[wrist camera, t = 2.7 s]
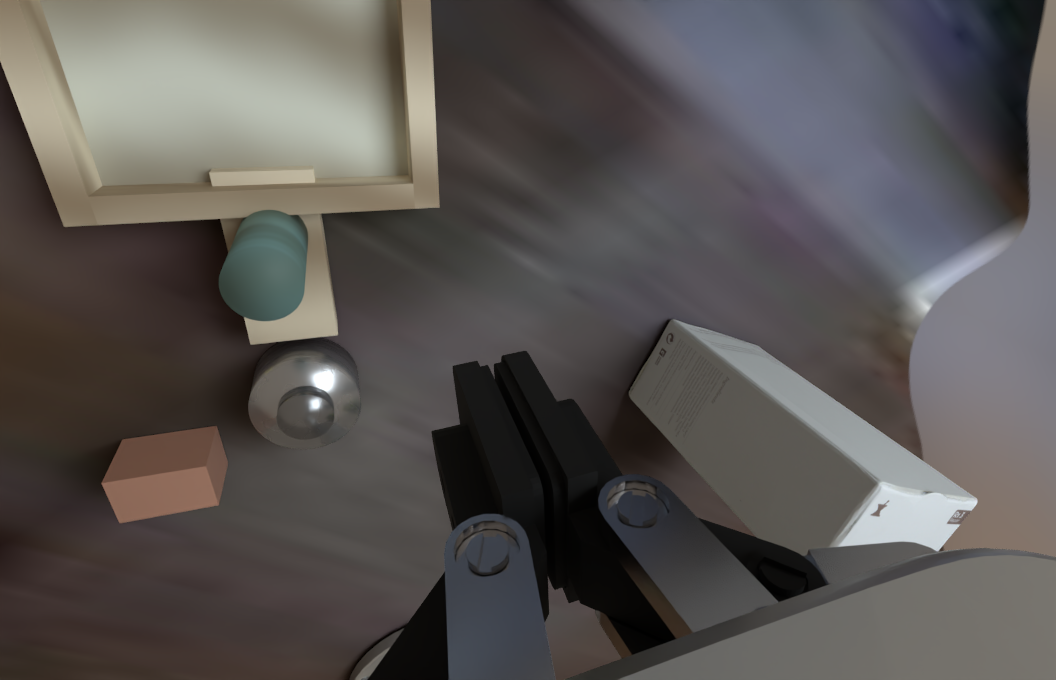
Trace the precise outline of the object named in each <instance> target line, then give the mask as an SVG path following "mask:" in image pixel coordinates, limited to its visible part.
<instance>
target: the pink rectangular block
mask: <svg viewBox="0 0 1056 680" xmlns="http://www.w3.org/2000/svg"><path fill="white" fill-rule="evenodd" d="M227 465H228V461H227V458H226V454H225V451H224V448H223V445H222V441H221V438H220V435H219V431H218V428H217V426H211V427H204V428H197V429H191V430H184V431H177V432H170V433H163V434H156V435H150V436H143V437H136V438H129V439H123V440H122V442H121V444H120V446H119V448H118V450H117V452H116V454H115V456H114V458H113V460H112V462H111V464H110V466H109V469H108V471H107V473H106V475H105V477H104V479H103V481H102V483H101V484H102V486H103V488H104V490H105V492H106V495H107V497H108V499H109V501H110V503H111V506H112V508H113V510H114V512H115V514H116V516H117V519H118V521H119V523H124V522H130V521H135V520H141V519H146V518H151V517H157V516H162V515H168V514H173V513H179V512H184V511H190V510H195V509H201V508H206V507H211V506H217V505H219V502H220V497H221V493H222V488H223V484H224V479H225V475H226V470H227Z"/></svg>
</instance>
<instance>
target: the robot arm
mask: <svg viewBox="0 0 1056 680" xmlns="http://www.w3.org/2000/svg"><path fill="white" fill-rule="evenodd" d="M494 374H495V379H494V377H493V375H492V373H491V371H490V368H489V367H488V365H486V366H481V367H480V365H479V363H478V361H474V362H469V363H464V364H459V365H455V366H453V376H454V383H455V390H456V397H457V404H458V412H459V419H460V425H456V426H452V427H447V428H443V429H439V430H435V431H432V438H433V444H434V450H435V456H436V461H437V466H438V471H439V476H440V481H441V485H442V490H443V494H444V498H445V502H446V506H447V510H448V514H449V518H450V522H451V526H452V530H453V531H452V532H451V534H450V536H449V538H448V540H447V542H446V546H445V553H444V559H445V572H444V574H443V575H442V576H441V578H440V579H439V581H438V582H437V583H436V585H435V586H434V588H433V589H432V590H431V592H430V593H429V595H428V596H427V597H426V599H425V600H424V602H423V603H422V604H421V606H420V607H419V608H418V610H417V611H416V613H415V614H414V615H413V617H412V618H411V620H410V621H409V622H408V624H407V625H406V627H405V628H403V629H401V630H399V631H397V632H395V633H393V634H392V635H390V636H388V637H387V638H385V639H384V640H382V641H381V642H379V643H378V644H377V645H376V646H374V647H373V648H372V649H371V650H370V651H368V652H367V653H366V654H365V656H364V657H363V658H362V659H361V660H360V661H359V663H358V664H357V665H356V667H355V669H354V670H353V672H352V674H351V676H350V679H349V680H556V679H555V674H554V669H553V664H552V659H551V653H550V648H549V643H548V638H547V633H546V628H545V621H546V619H547V617H548V615H549V601H548V577H549V579H550V582H551V584H552V586H553V588H554V589H555V590H556V589H559V588H563V590H564V593H565V595H566V597H567V600H568V602H569V603H571V602H574V601H577V600H579V601H580V603H581V604H583V605H586V606H588V607H590V608H592V609H595V614H596V617H597V619H598V621H599V623H600V625H601V627H602V628H603V630H604V631H605V633H606V635H607V636H608V638H609V639H610V641H611V642H612V644H613V646H614V647H615V649H616V650H617V652H618V653H619V655H620V657H621V658H622V659H620V660H617V661H614V662H612V663H609V664H606V665H603V666H601V667H598V668H595V669H592V670H590V671H587V672H584V673H581V674H579V675H576V676H573V677H570V678H568V679H565V680H1056V557H1053V556H1048V555H1044V554H1039V553H1033V552H1027V551H1020V550H1006V549H990V548H976V549H960V550H948V551H942V552H937V551H935V550H934V549H932V548H930V547H927V546H924V545H921V544H918V543H915V542H902V541H901V542H889V543H877V544H865V545H853V546H841V547H829V548H817V549H809V550H808V553H807V555H803V556H802V555H801V554H799V553H797V552H795V551H793V550H790V549H788V548H786V547H783V546H780V545H777V544H774V543H771V542H768V541H765V540H762V539H759V538H756V537H753V536H751V535H748V534H745V533H742V532H739V531H736V530H733V529H730V528H727V527H724V526H721V525H718V524H715V523H712V522H709V521H706V520H703V519H700V518H697V517H696V516H695V515H694V514H693V513H692V511H691V510H690V509H689V508H688V507H687V506H686V505H685V504H684V503H683V502H682V501H681V500H680V499H679V498H678V497H677V496H676V495H675V494H674V493H673V492H672V491H671V490H670V489H669V488H668V487H667V486H665V485H664V484H663V483H662V482H660V481H658V480H656V479H654V478H651V477H648V476H644V475H639V474H632V475H622V473H621V472H620V470H619V469H618V467H617V466H616V464H615V462H614V461H613V459H612V458H611V456H610V455H609V453H608V452H607V450H606V448H605V447H604V445H603V444H602V442H601V441H600V439H599V437H598V436H597V434H596V433H595V431H594V430H593V428H592V427H591V425H590V423H589V422H588V420H587V419H586V417H585V416H584V414H583V413H582V411H581V409H580V408H579V406H578V405H577V403H576V402H575V401H574V400H573V399H567V400H563V401H558V402H557V401H556V399H555V398H554V396H553V394H552V393H551V391H550V389H549V388H548V386H547V384H546V383H545V381H544V379H543V378H542V376H541V374H540V372H539V371H538V369H537V367H536V366H535V364H534V362H533V361H532V359H531V357H530V356H529V354H528V353H527V351H522V352H517V353H512V354H507V355H503V356H502V358H501V362H500V363H496V364H494ZM547 574H548V575H547Z"/></svg>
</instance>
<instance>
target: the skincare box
mask: <svg viewBox="0 0 1056 680" xmlns="http://www.w3.org/2000/svg"><path fill="white" fill-rule="evenodd" d="M629 396H630V399H631V400H632V401H633V402H634V403H635V404H636V405H637V406H638V407H639V409H640V410H641V411H642V412H643V413H644V414H645V415H646V416H647V417H648V418H649V420H650V421H651V422H652V423H653V424H654V425H655V426H656V427H657V428H658V429H659V431H660V432H661V433H662V434H663V435H664V436H665V437H666V438H667V439H668V440H669V441H670V443H671V444H672V445H673V446H674V447H675V448H676V449H677V450H678V452H679V453H680V454H681V455H682V456H683V457H684V458H685V459H686V460H687V462H688V463H689V464H690V465H691V466H692V467H693V468H694V469H695V470H696V471H697V472H698V474H699V475H700V476H701V477H702V478H703V479H704V480H705V481H706V482H707V483H708V484H709V486H710V487H711V488H712V489H713V490H714V491H715V492H716V493H717V494H718V495H719V496H720V498H721V499H722V500H723V501H724V502H725V503H726V504H727V505H728V506H729V507H730V509H731V510H732V511H733V512H734V513H735V514H736V515H737V516H738V517H739V518H740V519H741V521H742V522H743V523H744V524H745V525H746V526H747V527H748V528H749V529H750V530H751V532H752V533H753V534H754V535H755V536H756V537H757V538H759V539H762V540H765V541H768V542H771V543H774V544H777V545H780V546H783V547H786V548H788V549H790V550H793V551H795V552H797V553H799V554H801V555H802V556H803V555H807V553H808V550H809V549H817V548H829V547H841V546H853V545H865V544H877V543H889V542H901V541H902V542H915V543H918V544H921V545H924V546H927V547H930V548H932V549H934V550H935V551H937V552H938V550H939V549H940V548H941V547H942V546H943V545H944V543H945V542H946V541H947V539H949V537H950V536H951V535H952V534H953V532H954V531H955V530H956V529H957V528H958V526H959V525H960V524H961V523H962V521H963V520H964V519H965V518H966V517H967V515H968V514H969V513H970V512H971V510H972V509H973V508H974V507H975V506H976V504H977V499H976V498H975V497H974V496H972V495H971V494H969V493H968V492H966V491H965V490H963V489H962V488H961V487H959V486H958V485H956V484H955V483H953V482H952V481H951V480H949V479H948V478H946V477H945V476H944V475H942V474H941V473H939V472H938V471H937V470H935V469H934V468H932V467H931V466H929V465H928V464H926V463H925V462H924V461H922V460H921V459H919V458H918V457H916V456H915V455H913V454H912V453H910V452H909V451H908V450H906V449H905V448H903V447H902V446H900V445H899V444H897V443H896V442H894V441H893V440H892V439H890V438H889V437H887V436H886V435H884V434H883V433H882V432H880V431H879V430H877V429H876V428H874V427H873V426H872V425H870V424H869V423H867V422H866V421H864V420H863V419H861V418H860V417H859V416H857V415H856V414H854V413H853V412H851V411H850V410H849V409H847V408H846V407H844V406H843V405H841V404H840V403H839V402H837V401H836V400H834V399H833V398H831V397H830V396H828V395H827V394H826V393H824V392H823V391H821V390H820V389H818V388H817V387H816V386H814V385H813V384H811V383H810V382H808V381H807V380H805V379H804V378H803V377H801V376H800V375H798V374H797V373H795V372H794V371H792V370H791V369H790V368H788V367H787V366H785V365H784V364H782V363H781V362H780V361H778V360H777V359H775V358H774V357H772V356H771V355H770V354H768V353H767V352H765V351H764V350H762V349H761V348H760V347H759V346H757V345H754V344H751V343H748V342H745V341H742V340H739V339H736V338H733V337H730V336H727V335H724V334H720V333H717V332H714V331H711V330H708V329H704V328H701V327H697V326H693V325H689V324H686V323H683V322H680V321H678V320H675V319H672V320H671V321H670V322H669V323H668V325H667V327H666V328H665V330H664V332H663V334H662V336H661V338H660V340H659V342H658V343H657V345H656V347H655V349H654V350H653V352H652V354H651V355H650V357H649V358H648V360H647V362H646V363H645V365H644V366H643V368H642V370H641V371H640V373H639V375H638V376H637V378H636V380H635V382H634V384H633V385H632V387H631V388H630V391H629Z"/></svg>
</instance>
